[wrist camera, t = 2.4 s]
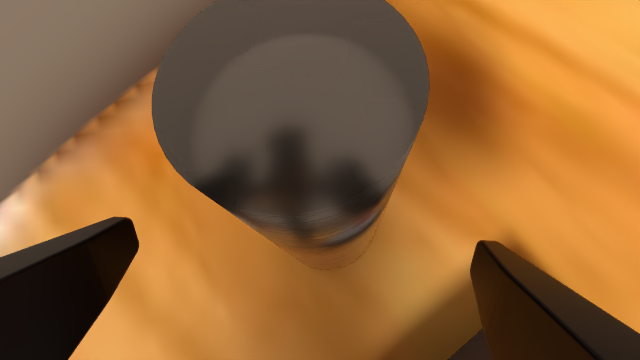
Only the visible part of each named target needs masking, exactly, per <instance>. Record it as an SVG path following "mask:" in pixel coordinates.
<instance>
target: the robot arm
mask: <svg viewBox="0 0 640 360" xmlns="http://www.w3.org/2000/svg"><path fill="white" fill-rule="evenodd" d="M138 248H139V241H138V238H137V234H136V231H135V228H134V224H133V222H132V220H131V219H130V218H127V217H112V218H109V219H106V220H103V221H100V222H98V223H95V224H92V225H89V226H86V227H84V228H81V229H78V230H75V231H73V232H70V233H67V234H64V235H61V236H59V237H56V238H53V239H50V240H48V241H45V242H42V243H39V244H36V245H34V246H31V247H28V248H25V249H22V250H20V251H17V252H14V253H11V254H9V255H6V256H3V257H0V360H68V359H69V358H70V356H71V355H72V354H73V352H74V351H75V349H76V348H77V346H78V345H79V344H80V342H81V341H82V339H83V338H84V336H85V335H86V334H87V332H88V331H89V329H90V328H91V326H92V325H93V324H94V322H95V321H96V319H97V318H98V316H99V315H100V314H101V312H102V311H103V309H104V308H105V306H106V305H107V303H108V302H109V300H110V299H111V297H112V295H113V294H114V292H115V290H116V288H117V287H118V285H119V283H120V281H121V280H122V278H123V276H124V274H125V273H126V271H127V269H128V267H129V266H130V264H131V262H132V260H133V259H134V257H135V255H136V253H137V251H138ZM470 275H471V280H472V284H473V288H474V293H475V297H476V301H477V305H478V310H479V314H480V318H481V322H482V326H483V330H484V334H485V337H486V340H487V343H488V346H489V349H490V352H491V355H492V358H493V360H640V334H639V333H638V332H636V331H635V330H633V329H632V328H630V327H629V326H627V325H626V324H624V323H622V322H621V321H619V320H618V319H616V318H615V317H613V316H612V315H610V314H609V313H607V312H605V311H604V310H602V309H601V308H599V307H598V306H596V305H595V304H593V303H592V302H590V301H589V300H587V299H585V298H584V297H582V296H581V295H579V294H578V293H576V292H575V291H573V290H572V289H570V288H568V287H567V286H565V285H564V284H562V283H561V282H559V281H558V280H556V279H555V278H553V277H551V276H550V275H548V274H547V273H545V272H544V271H542V270H541V269H539V268H538V267H536V266H535V265H533V264H531V263H530V262H528V261H527V260H525V259H524V258H522V257H521V256H519V255H518V254H516V253H514V252H513V251H511V250H510V249H508V248H507V247H505V246H504V245H502V244H501V243H499V242H497V241H486V240H480V241H479V242H478V243H477V245H476V248H475V252H474V255H473V259H472V263H471V267H470Z"/></svg>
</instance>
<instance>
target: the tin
mask: <svg viewBox="0 0 640 360" xmlns="http://www.w3.org/2000/svg"><path fill="white" fill-rule="evenodd" d="M428 96H429V70H428V65H427V61H426V56H425V53H424V51H423V48H422V45H421V43H420V41H419V39H418V37H417V35H416V34H415V32H414V30H413V29H412V27H411V26H410V25H409V23H408V22H407V21H406V19H405V18H404V17H403V16H402V15H401V14H400V13H399V12H398V11H397V10H396V9H395V8H394V7H393V6H391V5H390V4H389V3H387V2H386V1H385V0H216V1H215V2H214V3H212V4H211V5H209V6H208V7H206V8H205V9H203V10H202V11H201V12H200V13H199V14H197V15H196V16H195V17H194V18H193V19H192V20H191V21H190V22H189V23H188V24H187V25H186V26H185V27H184V28H183V29H182V30H181V31H180V33H179V34H178V35H177V36H176V38H175V39H174V40H173V42H172V43H171V45H170V46H169V48H168V50H167V52H166V53H165V55H164V57H163V59H162V61H161V64H160V66H159V68H158V71H157V75H156V78H155V82H154V87H153V94H152V117H153V124H154V129H155V132H156V135H157V138H158V141H159V144H160V146H161V148H162V150H163V152H164V154H165V156H166V158H167V159H168V160H169V162H170V163H171V164H172V166H173V167H174V169H175V170H176V171H177V172H178V173H179V174H180V175H181V176H182V177H183V178H184V179H185V180H186V181H187V182H188V183H189V184H191V185H192V186H193V187H195V188H196V189H198V190H199V191H200V192H202V193H203V194H205V195H206V196H207V197H209V198H210V199H212V200H213V201H215V202H216V203H217V204H219V205H220V206H222V207H223V208H225V209H226V210H227V211H229V212H230V213H232V214H233V215H235V216H236V217H237V218H239V219H240V220H242V221H243V222H245V223H246V224H247V225H249V226H250V227H252V228H253V229H255V230H256V231H257V232H259V233H260V234H262V235H263V236H265V237H266V238H267V239H269V240H270V241H272V242H273V243H275V244H276V245H277V246H279V247H280V248H282V249H283V250H285V251H286V252H287V253H289V254H290V255H292V256H293V257H295V258H296V259H297V260H299V261H300V262H302V263H303V264H305V265H307V266H310V267H313V268H317V269H324V270H330V269H337V268H341V267H344V266H346V265H348V264H350V263H352V262H354V261H355V260H357V259H358V258H359V257H360V256H361V255H362V254H363V253H364V252H365V250H366V249H367V247H368V246H369V244H370V242H371V240H372V238H373V235H374V233H375V231H376V228H377V226H378V224H379V221H380V219H381V217H382V214H383V212H384V210H385V207H386V205H387V203H388V200H389V198H390V196H391V193H392V191H393V189H394V186H395V184H396V182H397V179H398V177H399V175H400V173H401V170H402V168H403V166H404V163H405V161H406V159H407V156H408V154H409V152H410V149H411V147H412V145H413V142H414V140H415V138H416V135H417V133H418V131H419V128H420V126H421V124H422V121H423V118H424V115H425V111H426V108H427V104H428Z"/></svg>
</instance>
